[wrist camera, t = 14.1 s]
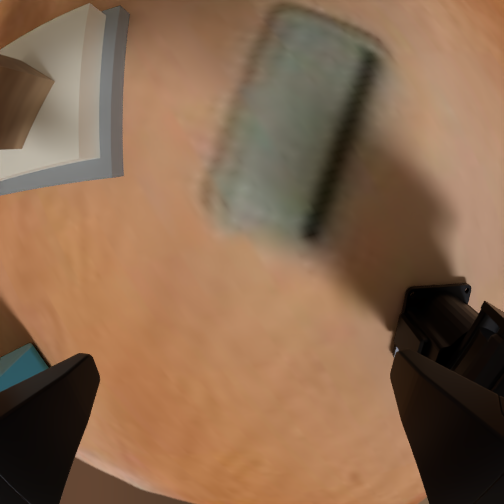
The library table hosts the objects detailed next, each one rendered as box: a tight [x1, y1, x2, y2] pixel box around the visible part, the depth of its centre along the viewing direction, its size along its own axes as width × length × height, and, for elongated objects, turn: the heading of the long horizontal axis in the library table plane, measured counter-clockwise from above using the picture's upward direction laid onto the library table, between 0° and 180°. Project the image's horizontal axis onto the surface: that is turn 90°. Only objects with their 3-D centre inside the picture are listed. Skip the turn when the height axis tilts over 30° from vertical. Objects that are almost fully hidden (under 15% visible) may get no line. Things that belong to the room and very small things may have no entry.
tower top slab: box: [0, 3, 106, 181], centre depth 15 cm, size 11×11×2 cm
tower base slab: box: [0, 6, 130, 195], centre depth 17 cm, size 13×13×2 cm
